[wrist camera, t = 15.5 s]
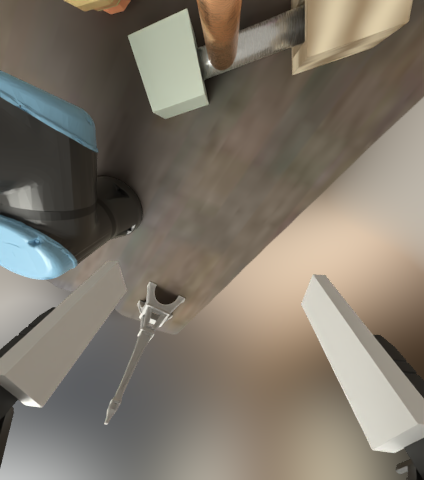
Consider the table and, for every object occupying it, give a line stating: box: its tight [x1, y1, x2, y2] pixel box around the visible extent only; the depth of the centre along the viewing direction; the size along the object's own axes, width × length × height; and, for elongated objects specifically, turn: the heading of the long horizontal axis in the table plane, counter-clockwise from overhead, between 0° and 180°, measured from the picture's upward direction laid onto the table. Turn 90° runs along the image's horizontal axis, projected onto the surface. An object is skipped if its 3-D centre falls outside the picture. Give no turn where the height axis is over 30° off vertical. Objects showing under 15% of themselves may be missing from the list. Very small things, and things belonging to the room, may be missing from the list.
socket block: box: [128, 8, 209, 119], centre depth 27 cm, size 9×9×6 cm
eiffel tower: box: [104, 282, 185, 424], centre depth 45 cm, size 13×13×30 cm
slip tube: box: [196, 0, 305, 80], centre depth 19 cm, size 22×4×18 cm, turn 104°
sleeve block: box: [291, 0, 413, 75], centre depth 23 cm, size 12×9×6 cm
